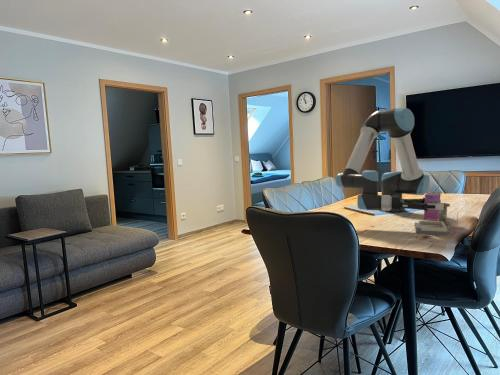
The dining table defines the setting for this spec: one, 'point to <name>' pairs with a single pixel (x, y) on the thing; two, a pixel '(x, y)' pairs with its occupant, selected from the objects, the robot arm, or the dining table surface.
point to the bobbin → (444, 214)
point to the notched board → (432, 227)
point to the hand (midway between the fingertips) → (442, 204)
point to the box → (432, 198)
